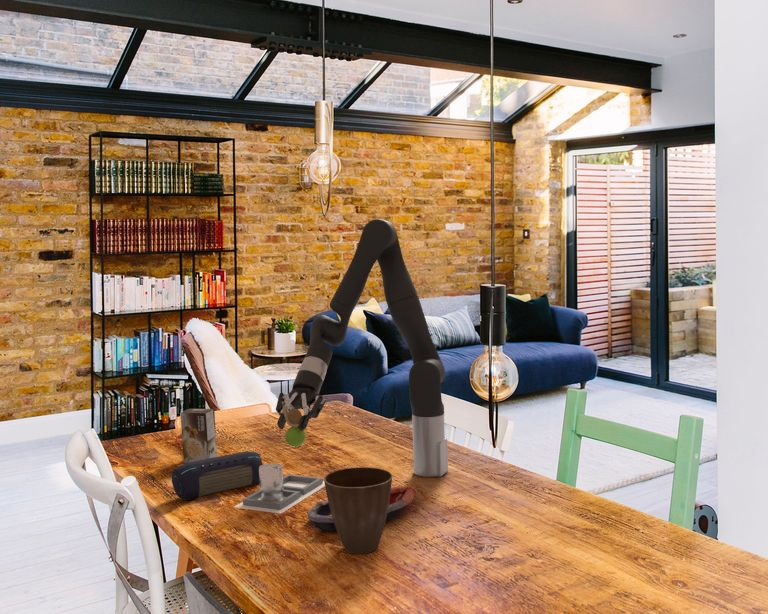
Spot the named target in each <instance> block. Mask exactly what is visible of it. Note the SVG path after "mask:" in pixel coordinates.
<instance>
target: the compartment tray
mask: <svg viewBox="0 0 768 614" xmlns="http://www.w3.org/2000/svg"><path fill="white" fill-rule="evenodd" d="M324 487H325V482H324V478H323V477H316V476H307V475H297V474H291V473H289V474H286V475H284V476H283V491H284V499H283V500H282V501H280V502H272V501H264V500H260V489H259V490H257V491H255V492H253V493H251V494H249V495H247V496H246V497H244V498H242V501H241V502H240V503H238V504H236V505H234V506H233V508H237V509H238V508H239V509H244V510H253V511H258V512H265V513H267V512H268V513H274V514H283V513H284V512H286V511H288V510H289V509H291V508H292V507H294V506H296V505H298V503H300V502H302V501H303V500H305V499H306V498H308V497H310V496H311V495H313V494H315V493H316V492H318V491H319V490H321V489H323V488H324Z"/></svg>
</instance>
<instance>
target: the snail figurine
mask: <svg viewBox="0 0 768 614" xmlns="http://www.w3.org/2000/svg"><path fill="white" fill-rule="evenodd" d="M283 403H285V401H284V402H282V404H283ZM287 409H288V408H287V406H285V405H284V406H283V411H284V417H285V420H286V423H287V424H288V426H290V427H289V428H287V430H286V432H285V434H284V439H285V441H286V443H287V445H289V446H291V447H294V448H296V447H300V446H301V445H303V443H304V442H305V441H306V432H305V430H304V431H300V430H299V428H298V425H299V423H300V420H301V418H302V413H301V411H300V409H296V408H293V409H291V410H290V411H289V413H288V411H287Z"/></svg>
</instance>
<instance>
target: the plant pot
mask: <svg viewBox="0 0 768 614" xmlns="http://www.w3.org/2000/svg"><path fill="white" fill-rule="evenodd" d="M323 481H324V482H325V486H324V487H325V491H326V492H325V493H326V498H327V501H328V503H329V507H330V510H331V513H330V515H331V516H332V517H333V520H334V524H335V527H336V529H337V531H336V532H337V535H338V537H339V539H340V541H341V544H342V546H343V548H344V551H346V552H347V553H350V554H354V555H365V554H370V553H372V552H375V551H376V550H377V549H378V547H379V545H380V541H381V538H382V536H383V532H384V528H385V524H386V522H387V521H386V517H387V512H388V507H389V501H390V493H391V487H392V483H393V474H392V473H391V472H390V471H388V470H385V469H383V468H377V467H364V466H361V467H360V466H359V467H349V468H347V467H346V468H342V469H338V470H334V471H331V472H329V473H328V474H326V475H325V476H324V478H323ZM385 521H386V522H385Z"/></svg>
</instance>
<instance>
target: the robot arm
mask: <svg viewBox="0 0 768 614" xmlns="http://www.w3.org/2000/svg"><path fill="white" fill-rule="evenodd" d="M376 262H377V263H378V265H379V268H380V272H381V273H380V274H381V277H382V286H383V293H384V299H385V302H386V305H387V308H388V310H389V314H390V317H391V320H392V321H393V323H394V326H395V327H396V328H397V330H398V332H399V333H400V335H401V336H402V338H403V339H404V341H405V342H406V345H407V347H408V349H409V352H410V356H411V360H412V364H413V365H412V366H411V367H410V369H409V372H408V373H409V374H408V391H409V393H408V394H409V403H410V407H411V421H412V424H411V425H412V458H413V474H415V475H416V476H420V477H424V478H427V477H428V478H430V477H442V476H443V475H444V474H446V473H447V472H448V471H449V461H448V460H449V458H448V457H449V456H448V454H449V452H448V439H447V438H446V434H445V433H446V431H445V429H446V428H445V406H444V405H445V404H444V403H443V399H442V383H444V380H445V376H446V369H445V366H444V364H443V361H442V360H441V357H440V355H439V353H438V351H437V349H436V346H435V343H434V342H433V340H432V336H431V333H430V330H429V326H428V323H427V320H426V317H425V314H424V313H425V312H424V310H423V307H422V304H421V300H420V298H419V295H418V292H417V289H416V286H415V283H414V282H413V280H412V277H411V275H410V272H409V270H408V268H407V266H406V263H405V260H404V257H403V253H402V249H401V245H400V241H399V235H398V232H397V228H396V227H395V226H394V225H393V223H391V222H390V221H389V220H385V219H382V218H374V219H372V220H369V221H368V222H367V223H366V224H365V225H364V226H363V228H362V231H361V236H360V238H359V241H358V243H357V247H356V250H355V252H354V255H353V257H352V260H351V262H350V264H349V265H348V268H347V270H346V272H345V274H344V276H343V278H342V279H341V281H340V282H339V284H338V287H337V289H336V291H335V292H334V294H333V296H332V298H331V300H330V302H329V308H330V309H331V310H332V311H333V312H334V313H335V314H336V315H338V316H339V318H340V319H339V321H337V320H336V319H333V318H332V317H330V316H327V315H326V314H319V315H317V316H316V317H314V319H313V320H312V322H311V326H310V333H309V334H310V335H309V336H310V337H309V345H308V349H307V351H306V354H305V356H304V359H303V361H302V363H301V364H300V365H299V366H300V367H299V369H298V371H297V374H296V376H295V378H294V381H293V384H292V389H291V391H289V393H285V394H284V392H280V393H279V394H278V398H277V403H276V407H275V411H276V412H277V414H278V415H279V417H278V420H277V422H276V424H277V427H278V429H280V430H284V428H285V426H286V423H287V422H286V420H285V417H284V411H283V406H284V405H285V406H287V408H288V409H287V411H288V413H289V411H290V410H291V409H293V408H296V409H298V410H303V415H302V418H301V420H300V423H299V425H298V428H299V430H300V431H304V432H305V430H306V429H307V427H308V424H309V421H310V420H311V419H317V418H318V417H319V415H320V413H321V411H322V409H323V408H324V405H325V404H326V398H324V396H323V395H322V394H320V392H321V388H322V386H323V383H324V380H325V377H326V374H327V370H328V367H329V365H330V362H331V359H332V357H333V349H332V348H331V346H332V347H339V346H341V345H342V344H343V343H344V341H345V339H346V337H347V332H348V327H349V324H350V323H349V322H350V319H351V317H352V313H353V312H354V310H355V307H356V306H357V304H358V302H359V300H360V299H361V296H362V294H363V292H364V289H365V287H366V284H367V282H368V278H369V275H370V273H371V271H372V269H373V267H374V265H375V264H376ZM329 345H331V346H329ZM319 394H320V395H319ZM284 401H285V403H283V404H282V402H284ZM312 405H313V406H312Z"/></svg>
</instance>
